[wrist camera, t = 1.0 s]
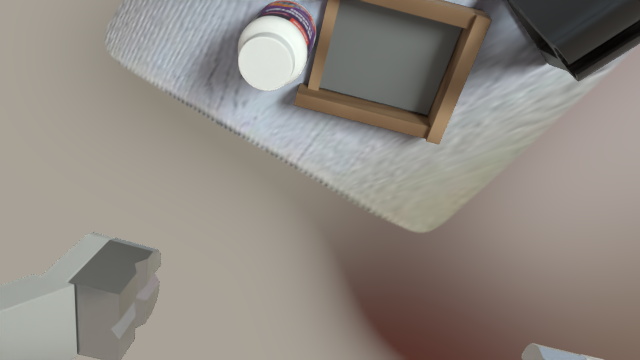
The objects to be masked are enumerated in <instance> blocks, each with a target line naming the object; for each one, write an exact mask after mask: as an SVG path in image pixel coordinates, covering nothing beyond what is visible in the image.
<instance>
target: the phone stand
mask: <svg viewBox="0 0 640 360" xmlns="http://www.w3.org/2000/svg"><path fill="white" fill-rule="evenodd" d="M507 1H508V2H509V4H510V5H511V7H512V9H513V10H514V12H515V13H516V15H517V16H518V18H519V19H520V21H521V22H522V24H523V26H524V27H525V29H526V30H527V32H528V33H529V35H530V36H531V38H532V40H533V41H534V43H535V44H536V46H537V47H538V49H539V50H540V52H541V53H542V55H543V57H544V58H545V60H546V61H547V63H548V64H549V65H552V66H554V67H557V68H560V69H563V70H566V71H568V72H569V73H570V74H571V75H572V76H573V77H574V78H575V79H576V80H577V81H580V80H582V79H584V78H585V77H587V76H588V75H590V74H592V73H593V72H595V71H596V70H598V69H600V68H601V67H603V66H604V65H606V64H608V63H609V62H611V61H612V60H614V59H616V58H617V57H619V56H621V55H622V54H624V53H625V52H627V51H629V50H630V49H632V48H633V47H635V46H637V45H638V44H640V0H507Z"/></svg>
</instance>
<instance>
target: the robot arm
mask: <svg viewBox="0 0 640 360" xmlns="http://www.w3.org/2000/svg"><path fill="white" fill-rule="evenodd" d="M160 264H161V253H160V252H159V250H158V249H154V248H150V247H146V246H143V245H139V244H136V243H132V242H129V241H125V240H121V239H118V238H113V237H109V236H105V235H102V234H98V233H94V232H93V233H89V234H87V235H86V236H84V237H83V238H82V239H81V240H80V241H79V242H78V243H77V244H75V245H74V246H73V247H72V248H71V249H70V250H69V251H68V252H67V253H66V254H64V256H62V257H61V258H60V259H59V260H58V261H57V262H56V263H55V264H54V265H52V266H51V267H50V268H49V269H48V270H47V271H46V272H45V273H44V274H43V275H41V276H39V275H35V274H33V275H30V276H27V277H24V278H21V279H18V280H15V281H11V282H8V283H5V284H2V285H0V360H72V359H74V358H76V357H77V354H79V355H84V356H88V357H93V358H97V359H101V360H121V359H122V357H123V356H124V354H125V353H126V351H127V350H128V348H129V347H130V345H131V344H132V342H133V341H134V339H135V328H137V327H139V326H141V325H143V324H145V323H146V321H147V319H148V318H149V316H150V315H151V313H152V311H153V308H154V306H155V303H156V301H157V297H158V292H159V283H160V282H159V280H158V278H157V277H156V275H155V272H156V271H157V270H158V268H159V267H160ZM522 359H523V360H603V359H599V358H595V357H590V356H586V355H582V354H575V353H571V352H567V351H562V350H558V349H554V348H550V347H546V346H542V345H538V344H534V343H531V344H530V345H529V346H527V347H526V349H525V350H524V352H523V354H522Z"/></svg>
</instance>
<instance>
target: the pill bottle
mask: <svg viewBox="0 0 640 360" xmlns="http://www.w3.org/2000/svg"><path fill="white" fill-rule="evenodd" d="M315 39H316V26H315V22H314V20H313V17H312V16H311V14H310V13H309V11H308V10H307V9H306V8H305V7H303V6H302V5H301V4H299V3H297V2H294V1H290V0H278V1H275V2H272V3H270V4H269V5H267V6H266V7H265V8H264V9H263V10H262V11H261V12H260V13H259V14H258V15H257V16H256V17H255V18H254V19H253V20H252V21H251V22H250V23H249V24H248V25H247V26H246V28H245V29H244V30H243V32H242V34H241V36H240V39H239V43H238V56H239V57H238V66H239V70H240V72H241V75H242V76H243V78H244V79H245V80H246V81H247V82H248V83H249V84H250V85H251V86H253V87H254V88H256V89H259V90H263V91H272V90H276V89H279V88H281V87H282V86H284V85H287V84H289V83H291V82H293V81H294V80H295V79H296V78H297V77H298V76H299V75H300V74H301V73H302V71H303V69H304V67H305V65H306V63H307V60H308V58H309V55H310V53H311V51H312V48H313V46H314V43H315Z"/></svg>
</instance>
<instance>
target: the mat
mask: <svg viewBox="0 0 640 360" xmlns="http://www.w3.org/2000/svg"><path fill="white" fill-rule="evenodd" d="M461 29H462V27H459V26H455V25H451V24H447V23H443V22H440V21H436V20H432V19H428V18H425V17H421V16H417V15H413V14H410V13H406V12H402V11H398V10H395V9H391V8H387V7H383V6H380V5H376V4H372V3H368V2H365V1H361V0H340V3H339V7H338V11H337V16H336V20H335V24H334V28H333V32H332V36H331V40H330V44H329V49H328V53H327V57H326V61H325V65H324V69H323V73H322V77H321V81H320V86H319V87H320V88H324V89H328V90H332V91H336V92H340V93H344V94H348V95H352V96H355V97H359V98H363V99H367V100H371V101H375V102H379V103H383V104H387V105H390V106H394V107H398V108H402V109H406V110H410V111H414V112H418V113H421V114H425V115H428V113H429V111H430V108H431V106H432V103H433V101H434V98H435V96H436V93H437V90H438V88H439V85H440V83H441V80H442V78H443V75H444V73H445V70H446V68H447V65H448V63H449V60H450V57H451V55H452V52H453V50H454V47H455V45H456V42H457V40H458V37H459V35H460V32H461Z"/></svg>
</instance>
